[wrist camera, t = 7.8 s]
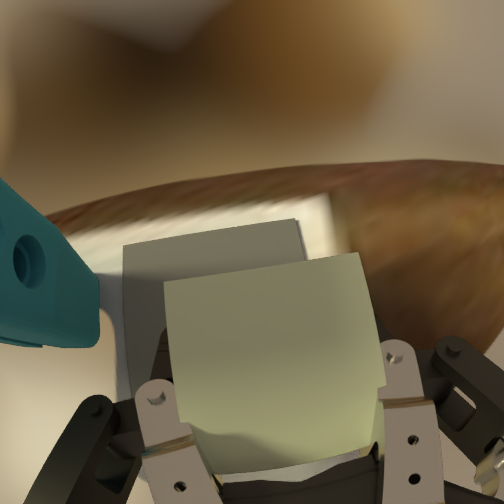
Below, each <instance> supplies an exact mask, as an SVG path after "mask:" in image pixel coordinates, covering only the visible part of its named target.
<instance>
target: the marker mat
mask: <svg viewBox="0 0 504 504" xmlns="http://www.w3.org/2000/svg"><path fill="white" fill-rule="evenodd" d="M300 261H305V259H304V254H303V250H302V246H301V241H300V237H299V233H298V229H297V225H296V221H295V218H293V219H286V220H279V221H272V222H265V223H258V224H251V225H244V226H238V227H231V228H225V229H218V230H212V231H206V232H199V233H193V234H187V235H181V236H175V237H169V238H163V239H158V240H152V241H146V242H140V243H135V244H129V245H124V246H123V311H124V329H125V342H126V353H127V363H128V372H129V380H130V387H131V394H132V398H134V397H135V395H136V392H137V390H138V389H139V388H140V387H141V386H142V385H143V384H145V383H146V382H148V381H150V376H151V372H152V368H153V363H154V359H155V355H156V353H157V347H158V345H159V339H160V335H161V333H162V332H163V330H164V329H165V328H166V327H167V323H166V311H165V298H164V282H166V281H173V280H180V279H187V278H194V277H201V276H208V275H215V274H222V273H229V272H236V271H242V270H249V269H255V268H262V267H268V266H275V265H281V264H288V263H294V262H300Z"/></svg>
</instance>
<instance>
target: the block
mask: <svg viewBox="0 0 504 504" xmlns="http://www.w3.org/2000/svg"><path fill="white" fill-rule="evenodd" d="M99 337H100V323H99V281H98V278H97V277H96V275H95V274H94V273H93V272H92V271H91V270H90V268H89V267H88V266H87V265H86V264H85V262H84V261H83V260H82V259H81V258H80V256H79V255H78V254H77V253H76V251H75V250H74V249H73V248H72V246H71V245H70V244H69V242H68V241H67V240H66V239H65V237H64V236H63V235H62V233H61V232H60V231H59V229H58V228H57V227H56V226H55V225H54V224H53V223H51V222H50V221H49V220H48V219H46V218H45V217H44V216H43V215H41V214H40V213H39V212H38V211H37V210H36V209H34V208H33V207H32V206H31V205H30V204H29V203H27V202H26V201H25V200H24V199H23V198H22V197H21V196H19V195H18V194H17V193H16V192H15V191H14V190H13V189H12V188H11V187H10V186H9V185H8V184H7V183H5V182H4V181H3V180H2V179H1V178H0V343H5V344H11V345H17V346H23V347H40V348H41V347H42V345H48V346H54V347H60V348H89V347H93V346H94V345H95V344H96V343H97V341H98V340H99Z"/></svg>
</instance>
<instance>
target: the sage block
mask: <svg viewBox="0 0 504 504" xmlns="http://www.w3.org/2000/svg"><path fill="white" fill-rule="evenodd" d="M164 298H165V311H166V323H167V333H168V343H169V351H170V360H171V368H172V375H173V382H174V389H175V395H176V401H177V407H178V413H179V419H180V423H182V422H188V423H189V425H190V427H191V429H192V431H193V433H194V435H195V437H196V439H197V441H198V443H199V445H200V447H201V449H202V451H203V453H204V455H205V457H206V458H207V460H208V462H209V464H210V466H211V468H212V469H213V471H214V473H215V475H217V474H234V473H246V472H255V471H263V470H270V469H277V468H283V467H289V466H294V465H299V464H304V463H309V462H313V461H318V460H322V459H326V458H330V457H333V456H337V455H341V454H344V453H347V452H351V451H354V450H357V449H360V448H363V447H366V446H369V445H370V440H371V434H372V428H373V421H374V414H375V407H376V398H377V389H378V388H380V387H383V386H385V385H387V384H386V377H385V370H384V364H383V358H382V353H381V347H380V342H379V337H378V331H377V327H376V322H375V317H374V313H373V308H372V304H371V300H370V295H369V291H368V287H367V283H366V279H365V275H364V272H363V268H362V264H361V261H360V257H359V254H358V252H355V253H349V254H343V255H337V256H331V257H325V258H319V259H313V260H307V261H300V262H294V263H288V264H281V265H275V266H268V267H262V268H255V269H249V270H242V271H236V272H229V273H222V274H215V275H208V276H201V277H194V278H187V279H180V280H173V281H166V282H164Z"/></svg>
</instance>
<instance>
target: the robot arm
mask: <svg viewBox="0 0 504 504" xmlns="http://www.w3.org/2000/svg"><path fill="white" fill-rule="evenodd" d="M373 313H374V317H375V322H376V327H377V331H378V337H379V342H380V347H381V353H382V358H383V364H384V370H385V377H386V384H387V385H385V386H383V387H380V388H378V389H377V398H376V407H375V414H374V421H373V428H372V434H371V440H370V445H369V446H366V447H363V448H360V452H359V456H358V459H354V460H351V461H348V462H345V463H341V464H338V465H335V466H334V467H332V468H330V469H328V470H326V471H324V472H322V473H320V474H318V475H315V476H313V477H311V478H309V479H307V480H304V481H301V482H283V481H267V480H256V481H246V482H234V483H224V481H223V480H222V478H221V476H220V475H219V474H217V475H215V473H214V471H213V469H212V468H211V466H210V464H209V462H208V460H207V458H206V457H205V455H204V453H203V451H202V449H201V447H200V445H199V443H198V441H197V439H196V437H195V435H194V433H193V431H192V429H191V427H190V425H189V423H188V422H182V423H180V419H179V413H178V407H177V401H176V395H175V389H174V382H173V375H172V368H171V360H170V351H169V343H168V333H167V327H166V328H165V329H164V330H163V332H162V333H161V335H160V339H159V345H158V347H157V353H156V355H155V359H154V363H153V368H152V372H151V376H150V381H148V382H146V383H145V384H143V385H142V386H141V387H140V388H139V389H138V390H137V392H136V395H135V397H134V398H131V399H128V400H124V401H121V402H117V403H112V402H111V400H110V399H109V398H107V397H106V396H104V395H93V396H90V397H88V398H87V399H85V400H84V401H83V402H82V403H81V404H80V405H79V407H78V409H77V410H76V412H75V413H74V415H73V417H72V418H71V420H70V421H69V423H68V425H67V426H66V428H65V430H64V431H63V433H62V434H61V436H60V438H59V439H58V441H57V443H56V444H55V446H54V448H53V450H52V451H51V453H50V455H49V457H48V458H47V460H46V462H45V463H44V465H43V467H42V469H41V471H40V472H39V474H38V476H37V478H36V480H35V482H34V484H33V485H32V487H31V489H30V491H29V493H28V495H27V497H26V499H25V501H24V503H23V504H126V502H127V500H128V497H129V494H130V492H131V490H132V487H133V485H134V482H135V480H136V478H137V475H138V473H139V470H140V468H141V466H142V463H143V467H144V471H145V474H146V478H147V481H148V484H149V487H150V491H151V493H152V497H153V500H154V503H155V504H504V371H503V370H502V369H501V368H499V367H498V366H497V365H495V364H494V363H493V362H492V361H490V360H489V359H488V358H487V357H485V356H484V355H483V354H481V353H480V352H479V351H478V350H476V349H475V348H474V347H472V346H471V345H470V344H468V343H467V342H466V341H464V340H463V339H461V338H459V337H456V336H446V337H443V338H441V339H440V340H439V341H438V342H437V344H436V347H435V349H426V350H414V349H413V348H412V347H411V346H410V345H409V344H408V343H406V342H404V341H401V340H394V338H393V337H392V336H391V334H390V333H389V331H388V330H387V329H386V327H385V326H384V325H383V323H382V322H381V321H380V319H379V318H378V317H377V315H376V314H375V312H374V311H373ZM455 386H456V387H458V388H459V389H460V390H461V391H462V392H463V393H464V394H465V395H467V396H468V397H469V398H470V399H471V400H472V401H473V402H474V403H475V405H476V409H475V408H473V407H472V406H471V405H470V404H469V403H468V402H467V401H466V400H465V399H464V398H462V397H461V396H460V395H459V394H458V393H457V392H456V391H455V390H454V389H453V388H454V387H455ZM438 428H439V429H440V430H441V431H442V432H443V433H444V434H445V435H446V436H447V437H448V438H449V439H450V440H451V441H452V442H453V443H454V444H455V445H456V446H457V447H458V448H459V449H460V450H461V451H462V452H463V453H464V454H465V455H466V456H467V458H468V459H470V461H472V462H473V464H474V465H475V466H476V474H475V476H474V482H475V483H476V484H478V485H481V487H482V493H479V492H475V491H472V490H469V489H467V488H464V487H461V486H458V485H456V484H453V483H450V482H447V481H445V480H443V464H442V453H441V444H440V436H439V429H438Z"/></svg>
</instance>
